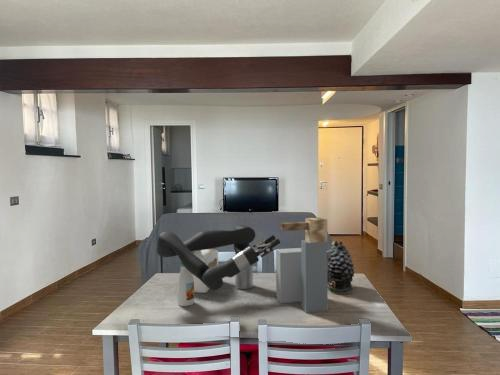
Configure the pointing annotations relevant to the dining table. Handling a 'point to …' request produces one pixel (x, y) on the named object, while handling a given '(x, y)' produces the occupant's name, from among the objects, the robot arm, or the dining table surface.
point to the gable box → (210, 260)
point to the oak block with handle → (309, 229)
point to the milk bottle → (185, 287)
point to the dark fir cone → (339, 269)
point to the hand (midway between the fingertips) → (276, 238)
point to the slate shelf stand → (303, 276)
